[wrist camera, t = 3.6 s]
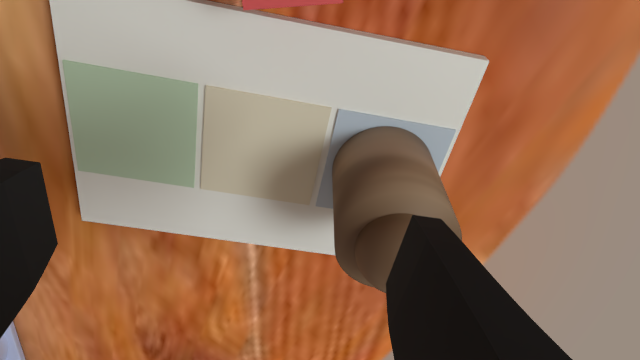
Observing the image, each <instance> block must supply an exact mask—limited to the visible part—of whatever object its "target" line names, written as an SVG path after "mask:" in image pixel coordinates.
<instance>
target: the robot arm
mask: <svg viewBox="0 0 640 360" xmlns="http://www.w3.org/2000/svg"><path fill="white" fill-rule="evenodd" d="M57 244H58V243H57V238H56V233H55V229H54V224H53V220H52V215H51V211H50V206H49V201H48V197H47V192H46V188H45V183H44V178H43V174H42V169H41V165H40V163H39V162H32V161H25V160H18V159H11V158H3V159H0V360H25V357H24V354H23V351H22V348H21V345H20V341H19V338H18V335H17V332H16V329H15V326H14V323H13V320H14V318H15V317H16V316H17V314H18V313H19V311H20V310H21V308H22V307H23V305H24V304H25V303H26V301H27V300H28V298H29V297H30V295H31V294H32V292H33V291H34V289H35V287H36V285H37V283H38V281H39V280H40V278H41V276H42V274H43V272H44V270H45V268H46V266H47V264H48V262H49V260H50V258H51V256H52V254H53V252H54V250H55V248H56V246H57ZM386 296H387V313H388V325H389V333H390V338H391V344H392V349H393V354H394V360H572V359H571V358H570V357H569V356H568V355H567V354H566V353H565V352H564V351H563V350H562V349H561V348H560V347H559V346H558V345H557V344H556V343H555V342H554V341H553V340H552V339H551V338H550V337H549V336H548V335H547V334H546V333H545V332H544V331H543V330H542V329H541V328H540V327H539V326H538V325H537V324H536V323H535V322H534V321H533V320H532V319H531V318H530V317H529V316H528V315H527V314H526V312H525V311H524V310H523V309H522V308H521V307H520V306H519V305H518V304H517V303H516V302H515V301H514V300H513V299H512V297H510V295H509V294H508V293H507V292H506V291H505V290H504V289H503V288H502V287H501V285H500V284H499V283H498V282H497V281H496V280H495V279H494V278H493V277H492V275H491V274H490V273H489V272H488V271H487V270H486V269H485V267H484V266H483V265H482V264H481V263H480V262H479V261H478V259H477V258H476V257H475V256H474V255H473V254H472V253H471V251H470V250H469V249H468V248H467V247H466V246H465V244H464V243H463V242H462V241H461V240H460V239H459V238H458V237H457V235H456V234H455V233H454V232H453V231H452V230H451V229H450V228H449V227H448V225H447V224H446V223H445V222H444V221H443V220H442V219H439V218H432V217H425V216H418V215H412V217H411V220H410V222H409V225H408V227H407V230H406V232H405V235H404V238H403V240H402V243H401V245H400V248H399V251H398V253H397V256H396V258H395V261H394V263H393V266H392V269H391V271H390V274H389V276H388V279H387V282H386Z"/></svg>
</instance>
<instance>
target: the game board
mask: <svg viewBox="0 0 640 360" xmlns="http://www.w3.org/2000/svg"><path fill="white" fill-rule="evenodd" d="M49 2H50V8H51V15H52V22H53V29H54V35H55V42H56V49H57V56H58V62H59V69H60V76H61V82H62V89H63V96H64V103H65V109H66V116H67V123H68V130H69V136H70V143H71V150H72V157H73V163H74V170H75V177H76V184H77V190H78V197H79V204H80V210H81V217H82V220H83V221H90V222H97V223H104V224H112V225H119V226H126V227H133V228H141V229H148V230H155V231H163V232H170V233H177V234H184V235H192V236H199V237H206V238H213V239H221V240H228V241H235V242H243V243H250V244H257V245H264V246H272V247H279V248H286V249H293V250H301V251H308V252H315V253H323V254H330V255H335V248H334V218H333V187H332V166H333V161H334V159H335V156H336V154H337V152H338V150H339V149H340V148H341V146H342V145H343V144H344V143H345V142H346V141H347V140H348V139H350V138H351V137H352V136H354V135H356V134H357V133H359V132H362V131H364V130H367V129H370V128H374V127H381V126H392V127H398V128H402V129H405V130H408V131H410V132H412V133H413V134H415V135H417V136H418V137H419V138H420V139H421V140H422V141H423V142H424V143H425V144H426V146H427V147H428V149H429V151H430V153H431V156H432V158H433V161H434V163H435V166H436V168H437V171H438V173H439V176H441V174H442V171H443V169H444V167H445V164H446V162H447V160H448V157H449V155H450V153H451V150H452V148H453V145H454V143H455V141H456V138H457V136H458V134H459V131H460V129H461V127H462V124H463V122H464V120H465V117H466V115H467V113H468V110H469V108H470V106H471V103H472V101H473V99H474V96H475V94H476V91H477V89H478V87H479V84H480V82H481V80H482V77H483V75H484V73H485V70H486V68H487V66H488V63H489V60H488V59H487V58H486V57H485V56H482V55H477V54H472V53H467V52H462V51H457V50H452V49H447V48H442V47H437V46H432V45H427V44H422V43H417V42H412V41H407V40H402V39H398V38H393V37H388V36H383V35H378V34H373V33H368V32H363V31H358V30H353V29H348V28H343V27H338V26H333V25H328V24H323V23H318V22H313V21H308V20H303V19H298V18H293V17H288V16H283V15H278V14H273V13H268V12H263V11H258V10H243V7H238V6H233V5H228V4H223V3H218V2H213V1H208V0H49Z"/></svg>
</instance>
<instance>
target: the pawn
mask: <svg viewBox="0 0 640 360" xmlns="http://www.w3.org/2000/svg"><path fill="white" fill-rule="evenodd" d="M332 187H333V218H334V248H335V255H336V258H337V261H338V263H339V265H340V266H341V268H342V269H343V270H344V271H345V272H346V273H347V274H348V275H349V276H350V277H352V278H353V279H355V280H356V281H358V282H360V283H362V284H365V285H368V286H371V287H375V288H377V289H378V290H380V291H382V292H385V293H386V282H387V279H388V276H389V274H390V271H391V269H392V266H393V263H394V261H395V258H396V256H397V253H398V251H399V248H400V245H401V243H402V240H403V238H404V235H405V232H406V230H407V227H408V225H409V222H410V220H411V217H412V215H418V216H425V217H432V218H439V219H442V220H443V221H444V222H445V223H446V224H447V225H448V227H449V228H450V229H451V230H452V231H453V232H454V233H455V234H456V235H457V237H458V238H459V239H460V240H461V241H462V235H461V229H460V226H459V223H458V221H457V218H456V216H455V213H454V211H453V208H452V206H451V203H450V201H449V198H448V196H447V193H446V191H445V188H444V186H443V183H442V181H441V178H440V176H439V173H438V171H437V168H436V166H435V163H434V161H433V158H432V156H431V153H430V151H429V149H428V147H427V146H426V144H425V143H424V142H423V141H422V140H421V139H420V138H419V137H418V136H417V135H415V134H413V133H412V132H410V131H408V130H405V129H402V128H398V127H392V126H381V127H374V128H370V129H367V130H364V131H362V132H359V133H357V134H356V135H354V136H352V137H351V138H350V139H348V140H347V141H346V142H345V143H344V144H343V145H342V146H341V148H340V149H339V150H338V152H337V154H336V156H335V159H334V161H333V166H332Z"/></svg>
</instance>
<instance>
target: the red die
mask: <svg viewBox="0 0 640 360" xmlns="http://www.w3.org/2000/svg"><path fill="white" fill-rule="evenodd" d="M336 3H343V0H242V4H243V10H254V9H268V8H281V7H295V6H309V5H322V4H336Z"/></svg>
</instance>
